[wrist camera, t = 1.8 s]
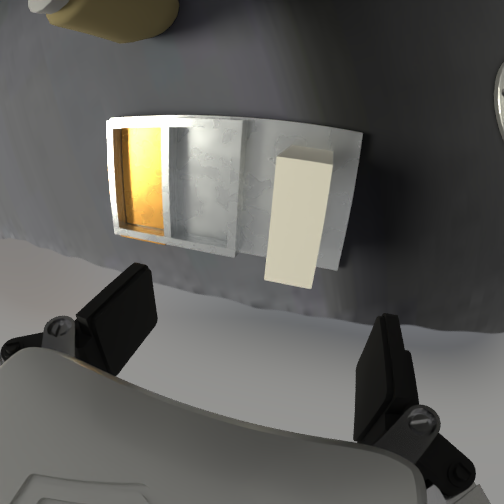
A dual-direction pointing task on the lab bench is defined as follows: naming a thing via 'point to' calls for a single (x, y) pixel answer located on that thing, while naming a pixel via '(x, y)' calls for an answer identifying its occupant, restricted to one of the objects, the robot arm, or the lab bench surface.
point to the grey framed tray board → (218, 180)
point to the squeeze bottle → (110, 17)
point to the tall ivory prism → (298, 214)
